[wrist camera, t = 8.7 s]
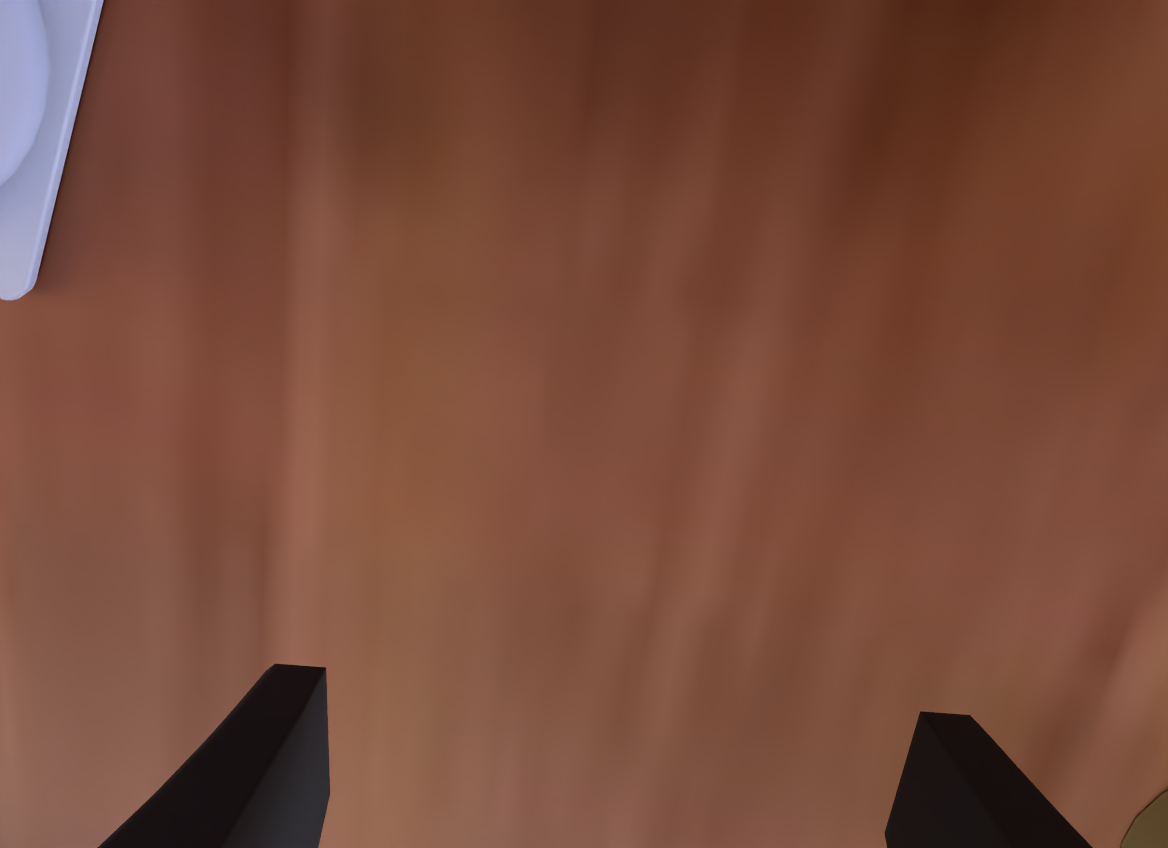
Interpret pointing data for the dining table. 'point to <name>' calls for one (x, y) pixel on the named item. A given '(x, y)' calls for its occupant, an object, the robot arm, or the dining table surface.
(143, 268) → the dining table surface
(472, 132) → the dining table surface
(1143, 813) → the cork
